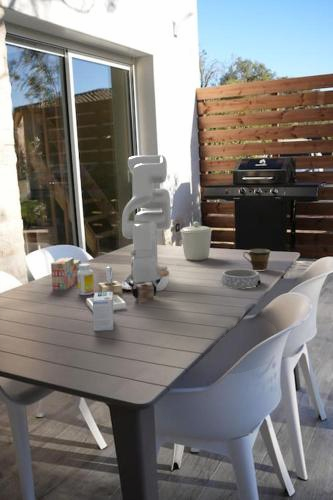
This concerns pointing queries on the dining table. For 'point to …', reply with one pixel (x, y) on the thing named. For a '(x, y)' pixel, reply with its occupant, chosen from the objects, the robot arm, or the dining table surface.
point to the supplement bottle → (85, 280)
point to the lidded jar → (162, 280)
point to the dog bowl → (240, 278)
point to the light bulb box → (103, 311)
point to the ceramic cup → (259, 258)
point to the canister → (196, 241)
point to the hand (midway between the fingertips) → (144, 296)
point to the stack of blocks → (64, 273)
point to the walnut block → (145, 292)
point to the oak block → (111, 288)
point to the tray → (117, 303)
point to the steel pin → (109, 276)
